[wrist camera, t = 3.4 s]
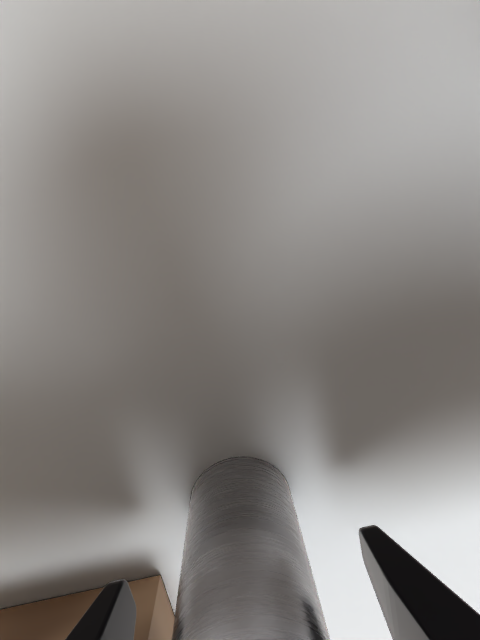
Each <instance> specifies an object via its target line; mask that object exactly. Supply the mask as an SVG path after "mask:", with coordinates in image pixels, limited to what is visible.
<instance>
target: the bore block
mask: <svg viewBox="0 0 480 640" xmlns="http://www.w3.org/2000/svg"><path fill="white" fill-rule="evenodd" d="M128 585H129V587H130V590H131V593H132V595H133V598H134V601H135V604H136V623H135V632H134V640H172V633H173V626H174V618H175V616H174V614H173V611H172V608H171V605H170V602H169V599H168V596H167V593H166V590H165V587H164V584H163V581H162V578H161V575H158V576H153V577H149V578H144V579H139V580H135V581H130V582H128ZM103 588H104V587H103ZM103 588H98V589H93V590H89V591H84V592H79V593H75V594H70V595H66V596H61V597H56V598H52V599H47V600H43V601H38V602H33V603H29V604H24V605H19V606H15V607H10V608H6V609H1V610H0V640H65V639H66V637H67V636H68V635H69V633H70V632H71V631H72V629H73V628H74V627H75V625H76V624H77V623H78V621H79V620H80V619H81V617H82V616H83V615H84V613H85V612H86V611H87V609H88V608H89V607H90V605H91V604H92V603H93V601H94V600H95V599H96V597H97V596H98V595H99V593H100V592H101V591H102V589H103Z"/></svg>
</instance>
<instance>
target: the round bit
mask: <svg viewBox="0 0 480 640" xmlns="http://www.w3.org/2000/svg"><path fill="white" fill-rule="evenodd" d="M172 640H330V638H329V634H328V630H327V626H326V623H325V619H324V615H323V612H322V608H321V604H320V600H319V597H318V593H317V589H316V585H315V582H314V578H313V574H312V571H311V567H310V563H309V559H308V556H307V552H306V548H305V545H304V541H303V537H302V533H301V530H300V526H299V522H298V518H297V515H296V511H295V507H294V504H293V500H292V496H291V492H290V489H289V485H288V483H287V481H286V479H285V478H284V476H283V475H282V474H281V473H280V471H279V470H277V469H276V468H275V467H274V466H272V465H271V464H269V463H267V462H265V461H262V460H259V459H256V458H251V457H235V458H229V459H226V460H223V461H220V462H218V463H216V464H214V465H212V466H211V467H209V468H208V469H207V470H206V471H205V472H203V473H202V474H201V476H200V477H199V478H198V480H197V481H196V483H195V485H194V487H193V490H192V493H191V499H190V507H189V514H188V522H187V529H186V537H185V544H184V551H183V559H182V566H181V574H180V581H179V589H178V596H177V604H176V611H175V618H174V626H173V633H172Z"/></svg>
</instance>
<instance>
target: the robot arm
mask: <svg viewBox="0 0 480 640" xmlns="http://www.w3.org/2000/svg"><path fill="white" fill-rule="evenodd" d="M359 537H360V544H361V550H362V556H363V560H364V563H365V566H366V569H367V572H368V575H369V577H370V580H371V583H372V585H373V588H374V591H375V593H376V596H377V599H378V601H379V604H380V607H381V609H382V612H383V615H384V617H385V620H386V623H387V625H388V628H389V631H390V633H391V636H392V638H393V640H480V614H478V613H477V612H476V611H475V610H474V609H473V608H472V607H470V606H469V605H468V604H467V603H466V602H465V601H463V600H462V599H461V598H460V597H459V596H458V595H456V594H455V593H454V592H453V591H452V590H451V589H449V588H448V587H447V586H446V585H445V584H444V583H442V582H441V581H440V580H439V579H438V578H437V577H436V576H434V575H433V574H432V573H431V572H430V571H429V570H427V569H426V568H425V567H424V566H423V565H422V564H420V563H419V562H418V561H417V560H416V559H415V558H413V557H412V556H411V555H410V554H409V553H408V552H407V551H405V550H404V549H403V548H402V547H401V546H400V545H398V544H397V543H396V542H395V541H394V540H393V539H391V538H390V537H389V536H388V535H387V534H386V533H384V532H383V531H382V530H381V529H380V528H379V527H377V526H375V525H371V526H366V527H362V528H360V529H359ZM135 623H136V604H135V601H134V598H133V595H132V593H131V590H130V587H129V585H128V582H127V581H126V580H125V579H121V580H116V581H112V582H109V583H108V584H107V585H106V586H105V587H104V588H103V589H102V591H101V592H100V593H99V595H98V596H97V597H96V599H95V600H94V601H93V603H92V604H91V605H90V607H89V608H88V609H87V611H86V612H85V613H84V615H83V616H82V617H81V619H80V620H79V621H78V623H77V624H76V625H75V627H74V628H73V629H72V631H71V632H70V633H69V635H68V636H67V637H66V639H65V640H134V632H135Z"/></svg>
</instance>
